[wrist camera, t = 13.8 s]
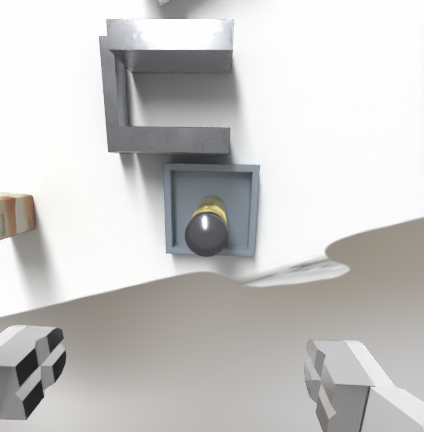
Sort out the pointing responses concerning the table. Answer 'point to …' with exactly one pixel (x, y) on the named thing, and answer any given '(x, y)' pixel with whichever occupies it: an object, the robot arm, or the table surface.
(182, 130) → the clevis block
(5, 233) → the skincare box
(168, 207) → the tray
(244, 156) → the table surface
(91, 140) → the table surface
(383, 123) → the table surface
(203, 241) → the pin
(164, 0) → the bracket
